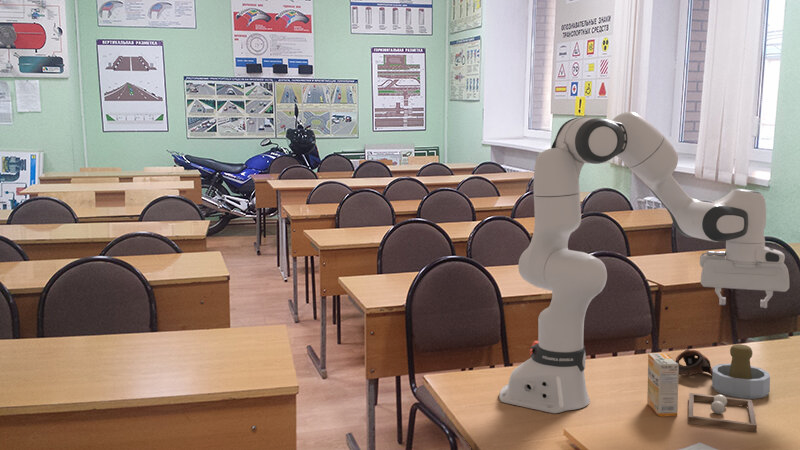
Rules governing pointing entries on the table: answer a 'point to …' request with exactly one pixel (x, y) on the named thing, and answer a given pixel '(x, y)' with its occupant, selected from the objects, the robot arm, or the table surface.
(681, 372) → the pottery mug
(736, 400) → the tray
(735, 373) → the cork
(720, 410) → the pebble
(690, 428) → the table surface
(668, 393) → the supplement box
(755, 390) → the bowl
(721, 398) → the pebble
